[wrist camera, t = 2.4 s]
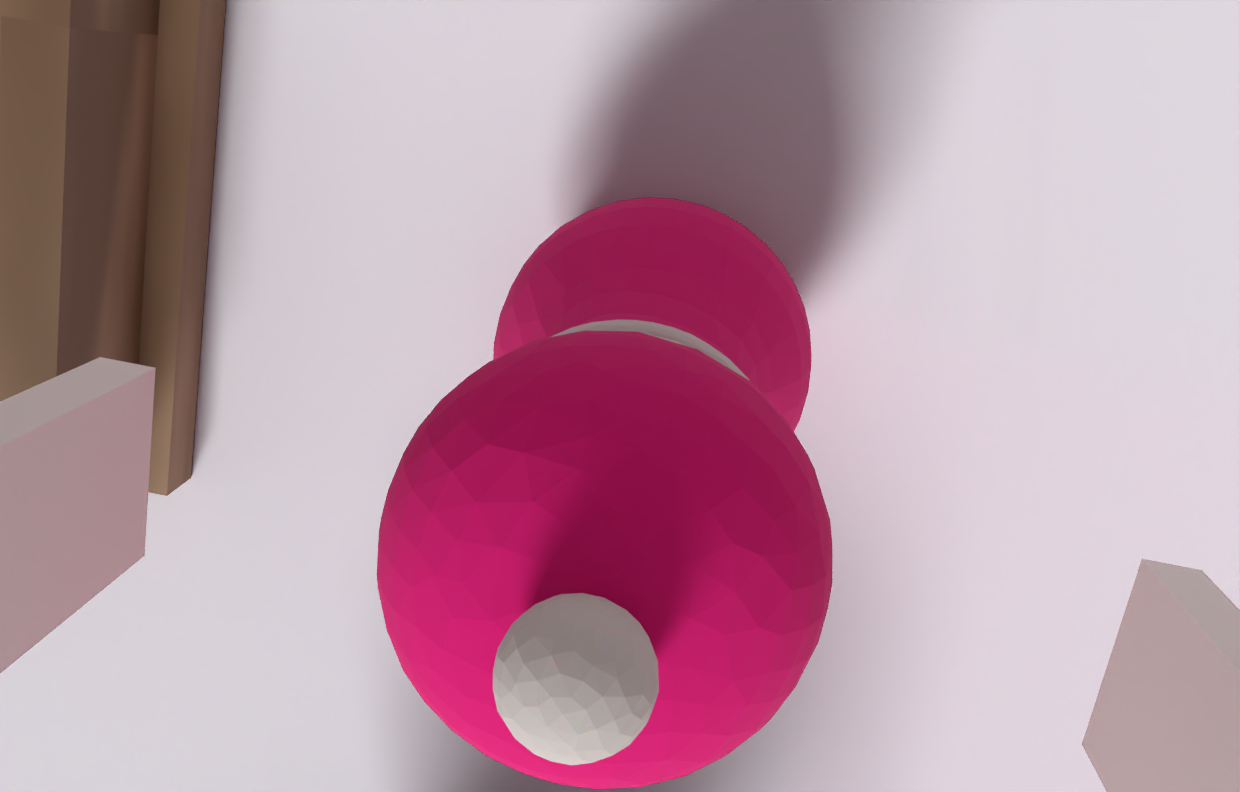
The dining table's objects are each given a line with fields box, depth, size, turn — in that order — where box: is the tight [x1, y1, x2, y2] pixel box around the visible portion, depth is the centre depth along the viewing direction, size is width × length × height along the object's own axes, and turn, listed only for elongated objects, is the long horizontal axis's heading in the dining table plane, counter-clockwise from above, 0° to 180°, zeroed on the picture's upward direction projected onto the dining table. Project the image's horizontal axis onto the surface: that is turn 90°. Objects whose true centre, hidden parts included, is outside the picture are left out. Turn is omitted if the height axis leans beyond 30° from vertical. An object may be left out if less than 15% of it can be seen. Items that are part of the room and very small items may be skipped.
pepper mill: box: [377, 197, 832, 789], centre depth 21 cm, size 7×7×20 cm
